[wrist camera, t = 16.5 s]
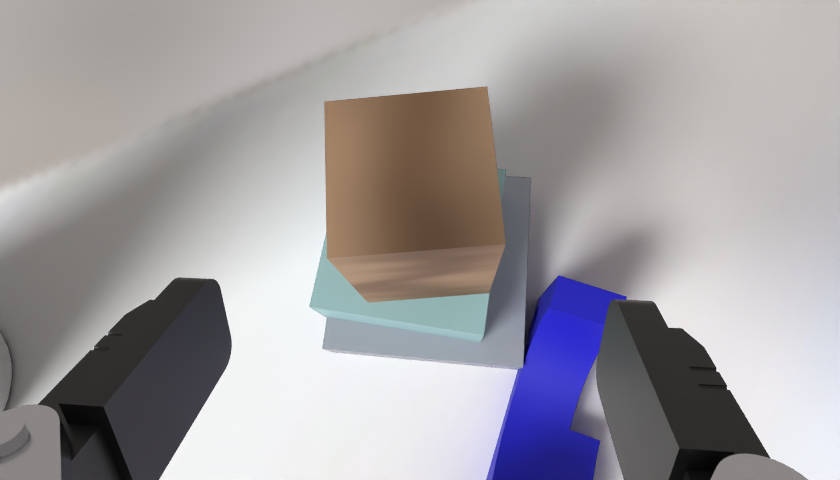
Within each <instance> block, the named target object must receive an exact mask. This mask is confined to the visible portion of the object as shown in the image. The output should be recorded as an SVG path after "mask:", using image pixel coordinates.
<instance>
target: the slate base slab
mask: <svg viewBox="0 0 840 480" xmlns="http://www.w3.org/2000/svg"><path fill="white" fill-rule="evenodd" d="M530 184H531V178H525V177H509V176H505V182H504V189H503V196H502V204H501V207H502V216H503V224H504V232H505V241H506V245H505V248H504V251H503V254H502V257H501V260H500V262H499V265H498V268H497V271H496V274H495V277H494V280H493V283H492V286H491V289H490V293H489V300H488V308H487V315H486V323H485V330H484V336H483V338H482V340H481V342H476V341H470V340H464V339H458V338H452V337H446V336H440V335H434V334H428V333H422V332H416V331H410V330H404V329H398V328H392V327H386V326H379V325H373V324H367V323H361V322H355V321H349V320H343V319H337V318H331V317H327V321H326V328H325V334H324V341H323V348H322V349H325V350H328V351H331V352H336V353H347V354H357V355H368V356H378V357H389V358H399V359H410V360H421V361H431V362H442V363H452V364H463V365H473V366H484V367H494V368H505V369H515V370H518V369H521V368H523V359H524V334H525V309H526V284H527V259H528V234H529V209H530Z"/></svg>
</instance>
